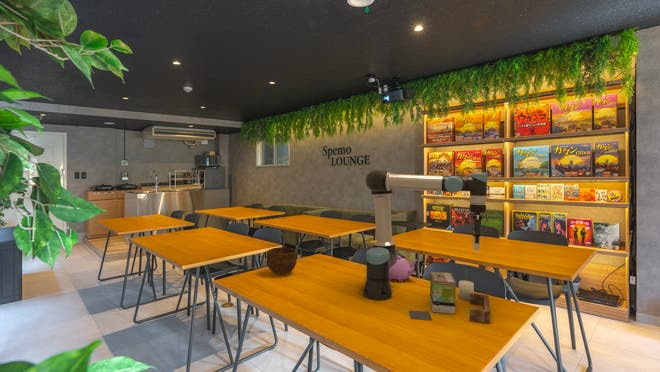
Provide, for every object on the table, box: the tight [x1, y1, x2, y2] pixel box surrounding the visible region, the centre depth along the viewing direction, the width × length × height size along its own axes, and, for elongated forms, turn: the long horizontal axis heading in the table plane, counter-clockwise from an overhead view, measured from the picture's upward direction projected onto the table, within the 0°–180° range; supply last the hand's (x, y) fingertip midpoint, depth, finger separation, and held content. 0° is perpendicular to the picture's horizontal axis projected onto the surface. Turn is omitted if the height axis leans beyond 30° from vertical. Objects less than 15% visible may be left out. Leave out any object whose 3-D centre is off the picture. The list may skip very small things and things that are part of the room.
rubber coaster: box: [408, 309, 433, 321], centre depth 149 cm, size 9×9×1 cm
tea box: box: [429, 271, 457, 315], centre depth 159 cm, size 15×10×15 cm, turn 168°
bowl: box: [266, 246, 298, 275], centre depth 210 cm, size 19×19×15 cm
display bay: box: [468, 292, 491, 324], centre depth 153 cm, size 8×22×5 cm, turn 157°
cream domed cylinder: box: [458, 280, 475, 302], centre depth 170 cm, size 7×7×8 cm
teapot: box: [389, 255, 418, 283], centre depth 201 cm, size 22×16×14 cm
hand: (476, 247), depth 166 cm, fingers open, 13 cm apart
